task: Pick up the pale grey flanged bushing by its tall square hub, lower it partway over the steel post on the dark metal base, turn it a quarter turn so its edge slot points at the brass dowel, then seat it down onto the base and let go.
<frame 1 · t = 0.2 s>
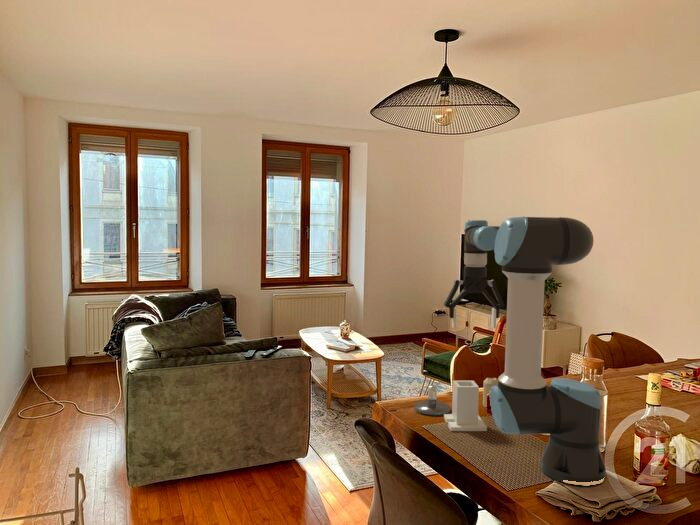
hand: (473, 327, 180), 27 cm above the table, fingers open, 13 cm apart
flange: (464, 424, 166), on the table
post base: (432, 409, 179), on the table
candle: (491, 406, 182), on the table
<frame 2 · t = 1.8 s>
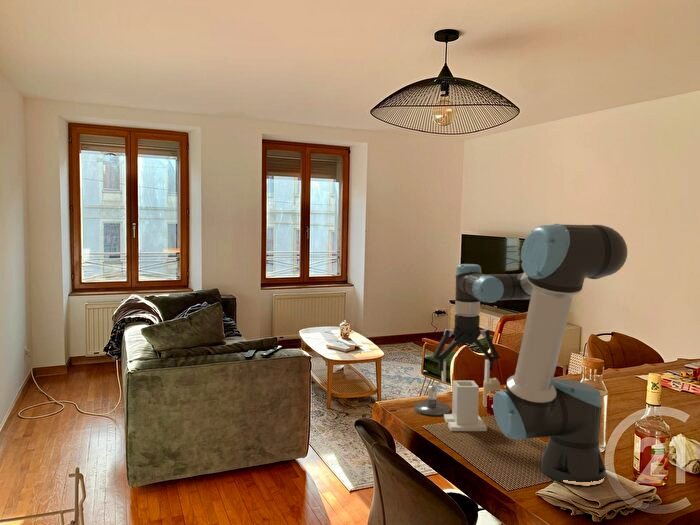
hand: (465, 381, 165), 14 cm above the table, fingers open, 13 cm apart
nothing on the table moved.
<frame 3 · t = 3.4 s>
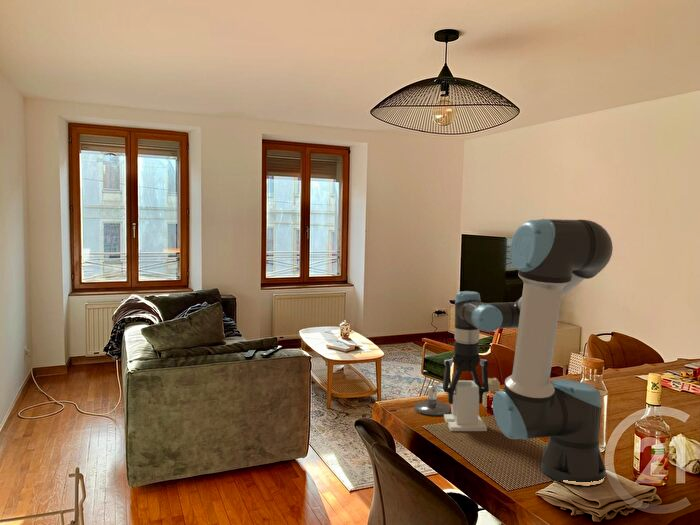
hand: (464, 413, 166), 3 cm above the table, fingers closed on flange, 7 cm apart
flange: (464, 424, 166), on the table, touching gripper
everything else where it was.
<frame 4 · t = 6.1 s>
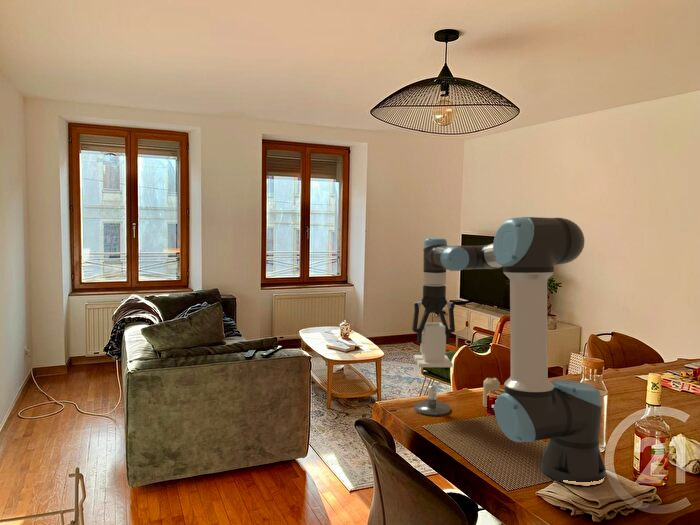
hand: (432, 352, 177), 20 cm above the table, fingers closed on flange, 7 cm apart
flange: (432, 362, 178), point 16 cm above the table, touching gripper
everything else where it was.
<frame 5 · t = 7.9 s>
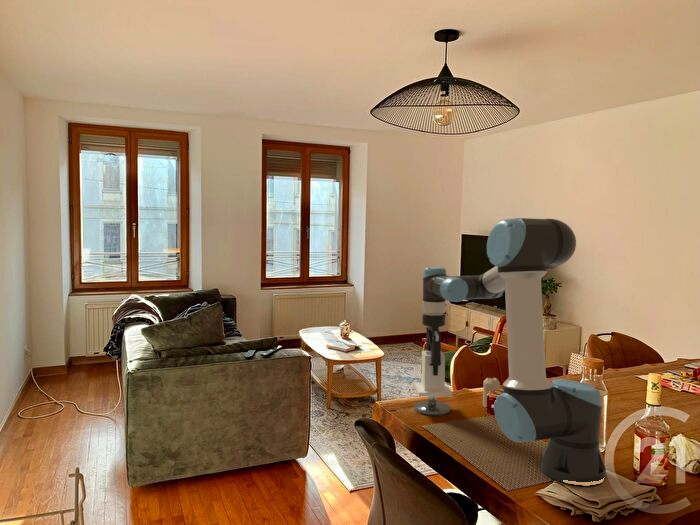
hand: (432, 380, 178), 10 cm above the table, fingers closed on flange, 7 cm apart
flange: (432, 390, 178), point 6 cm above the table, touching gripper
everything else where it was.
when the fingers open (5 cm above the table, at t = 9.3 s): flange stays where it is, resting on post base.
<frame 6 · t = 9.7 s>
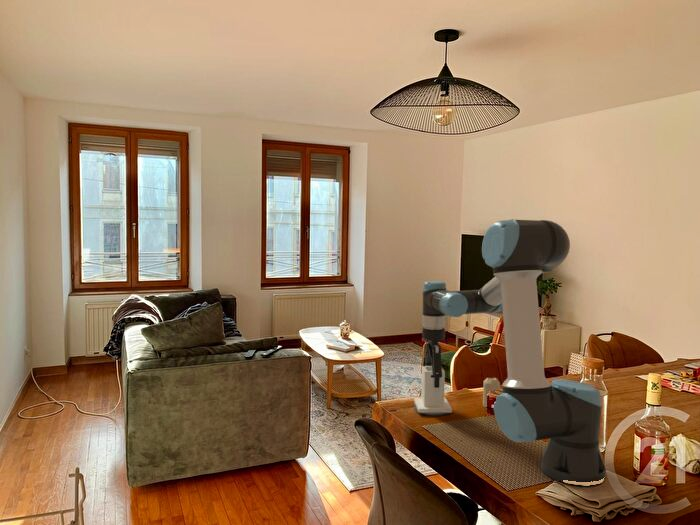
hand: (432, 390, 178), 7 cm above the table, fingers open, 12 cm apart
flange: (432, 406, 179), point 1 cm above the table, touching post base
everything else where it was.
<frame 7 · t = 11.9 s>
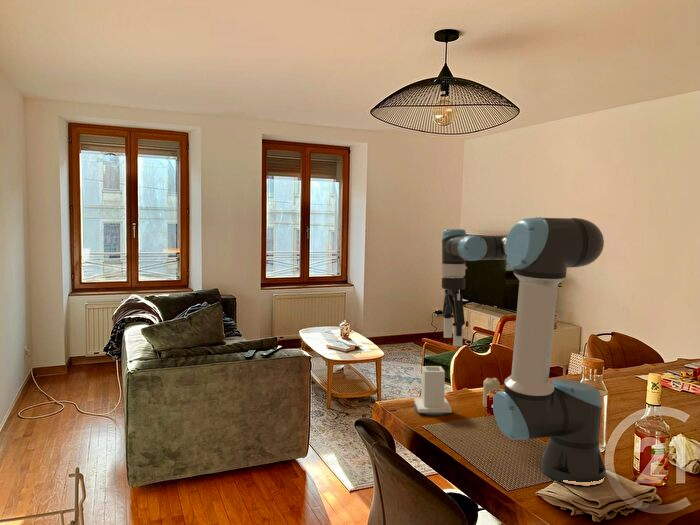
hand: (452, 341, 172), 24 cm above the table, fingers open, 13 cm apart
nothing on the table moved.
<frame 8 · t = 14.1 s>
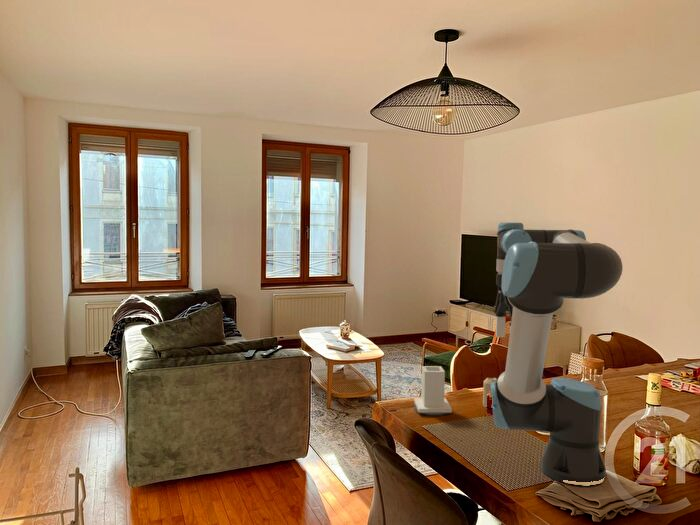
hand: (507, 342, 162), 27 cm above the table, fingers open, 13 cm apart
nothing on the table moved.
at the end: flange 0.1 cm off-centre on the post base, point 1.0 cm above the post base's base; flange tilted 0°; the gripper is holding nothing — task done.
